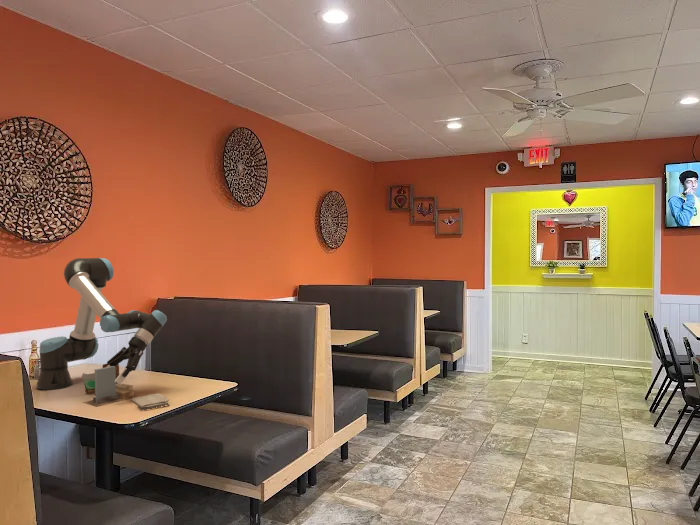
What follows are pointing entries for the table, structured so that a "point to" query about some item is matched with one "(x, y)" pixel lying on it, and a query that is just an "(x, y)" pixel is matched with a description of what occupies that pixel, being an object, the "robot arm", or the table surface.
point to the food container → (89, 383)
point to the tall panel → (105, 382)
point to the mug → (115, 367)
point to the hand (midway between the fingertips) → (108, 381)
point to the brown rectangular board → (106, 400)
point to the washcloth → (150, 401)
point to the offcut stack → (124, 391)
